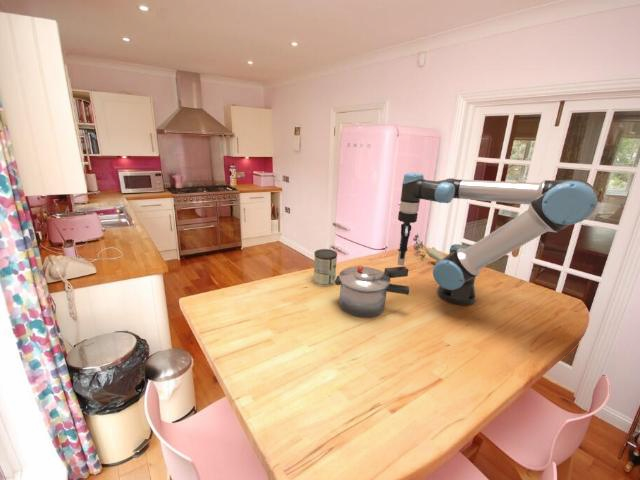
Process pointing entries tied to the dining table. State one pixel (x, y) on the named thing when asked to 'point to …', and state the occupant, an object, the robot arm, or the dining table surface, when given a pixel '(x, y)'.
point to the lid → (370, 278)
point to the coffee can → (325, 267)
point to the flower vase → (432, 252)
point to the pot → (366, 300)
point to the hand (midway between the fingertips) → (400, 264)
